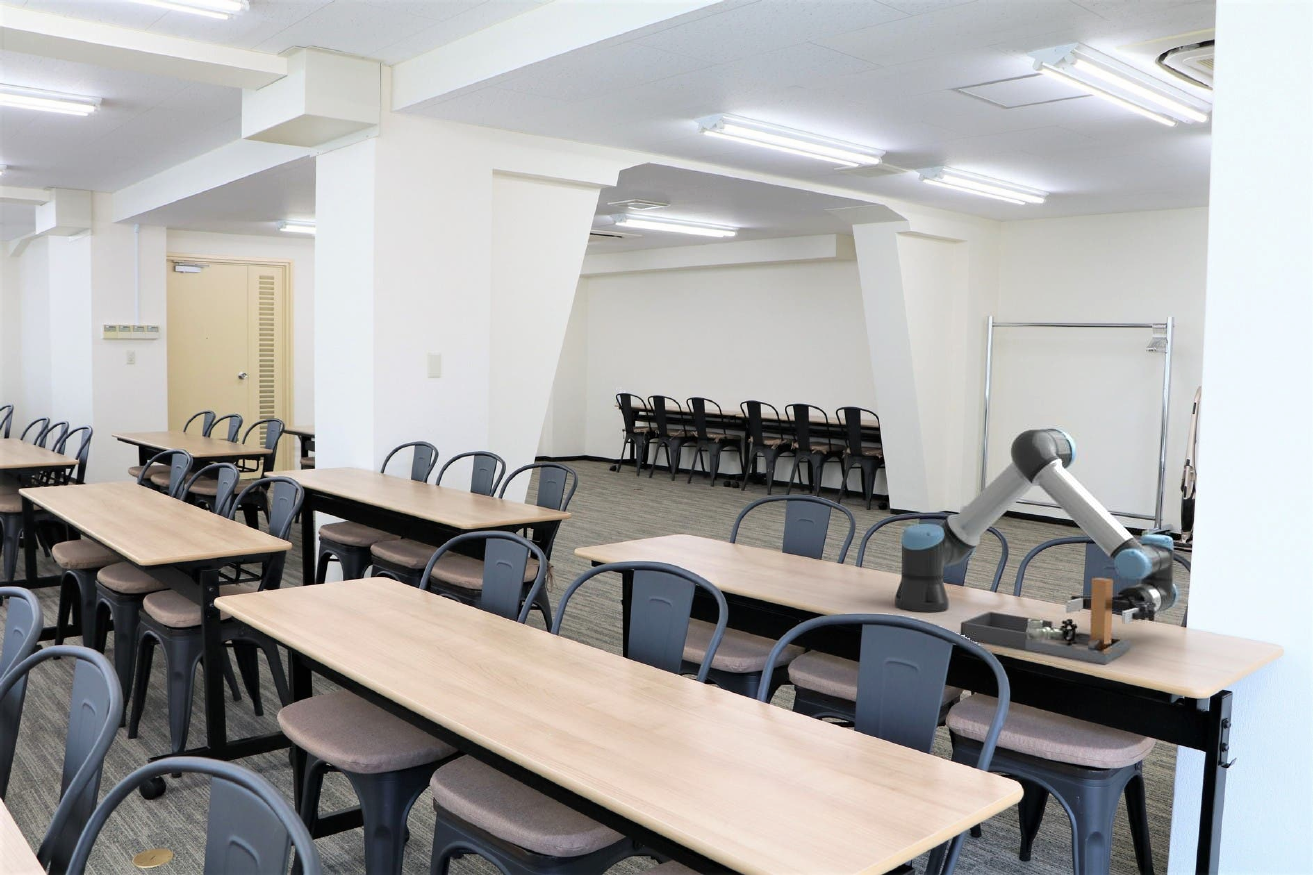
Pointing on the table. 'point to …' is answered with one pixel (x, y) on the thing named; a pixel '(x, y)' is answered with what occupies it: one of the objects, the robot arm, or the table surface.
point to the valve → (1051, 631)
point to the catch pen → (999, 629)
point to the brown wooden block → (1101, 614)
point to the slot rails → (1077, 653)
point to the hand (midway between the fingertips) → (1095, 612)
